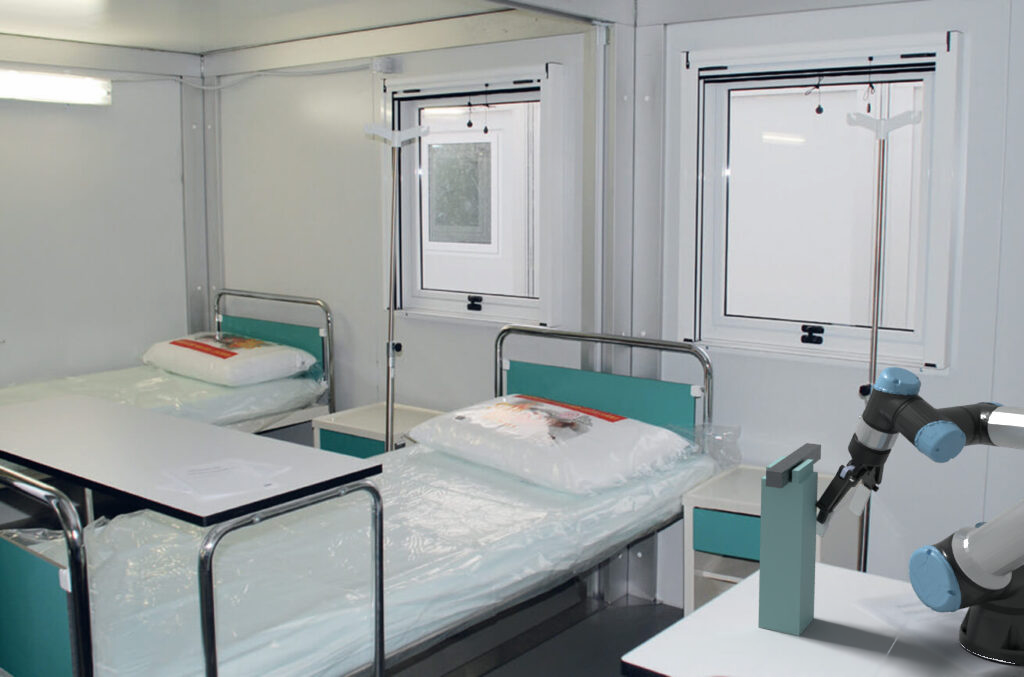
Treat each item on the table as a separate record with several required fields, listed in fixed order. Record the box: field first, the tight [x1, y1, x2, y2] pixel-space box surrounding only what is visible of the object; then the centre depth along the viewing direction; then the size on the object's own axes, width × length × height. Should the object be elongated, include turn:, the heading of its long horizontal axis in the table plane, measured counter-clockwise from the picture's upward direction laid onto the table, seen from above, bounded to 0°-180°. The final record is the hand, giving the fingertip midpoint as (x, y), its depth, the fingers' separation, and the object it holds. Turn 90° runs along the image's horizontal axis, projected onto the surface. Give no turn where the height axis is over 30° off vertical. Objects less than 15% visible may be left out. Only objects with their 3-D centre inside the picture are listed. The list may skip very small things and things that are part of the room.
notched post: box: [757, 455, 819, 637], centre depth 195 cm, size 10×8×32 cm
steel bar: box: [765, 442, 822, 488], centre depth 196 cm, size 26×3×3 cm, turn 147°
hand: (836, 522), depth 204 cm, fingers open, 13 cm apart
